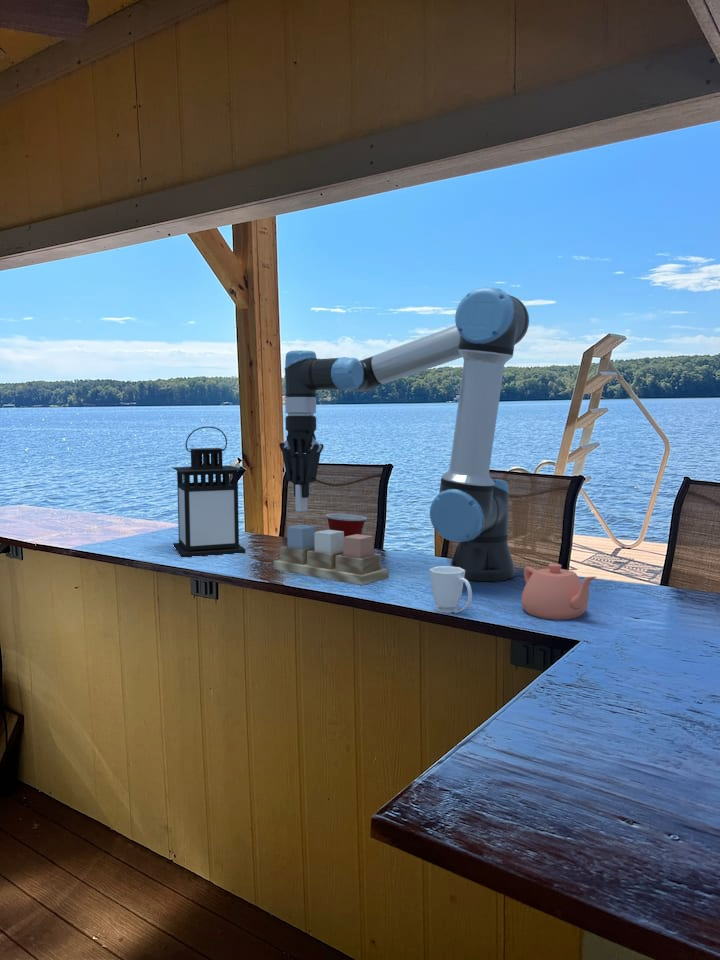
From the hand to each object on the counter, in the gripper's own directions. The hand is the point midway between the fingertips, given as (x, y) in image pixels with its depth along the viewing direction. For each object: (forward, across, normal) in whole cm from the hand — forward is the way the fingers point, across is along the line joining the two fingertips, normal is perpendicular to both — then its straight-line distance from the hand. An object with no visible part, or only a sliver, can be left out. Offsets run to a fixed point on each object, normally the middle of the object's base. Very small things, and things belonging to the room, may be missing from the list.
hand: (301, 510), depth 182 cm
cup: (+15, -50, +12) cm, 54 cm away
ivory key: (+10, -9, 0) cm, 14 cm away
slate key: (+10, 0, 0) cm, 10 cm away
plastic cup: (+15, -2, -15) cm, 21 cm away
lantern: (+15, +38, -2) cm, 41 cm away
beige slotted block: (+15, -9, 0) cm, 17 cm away
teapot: (+15, -67, 0) cm, 69 cm away
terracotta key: (+11, -18, 0) cm, 21 cm away
